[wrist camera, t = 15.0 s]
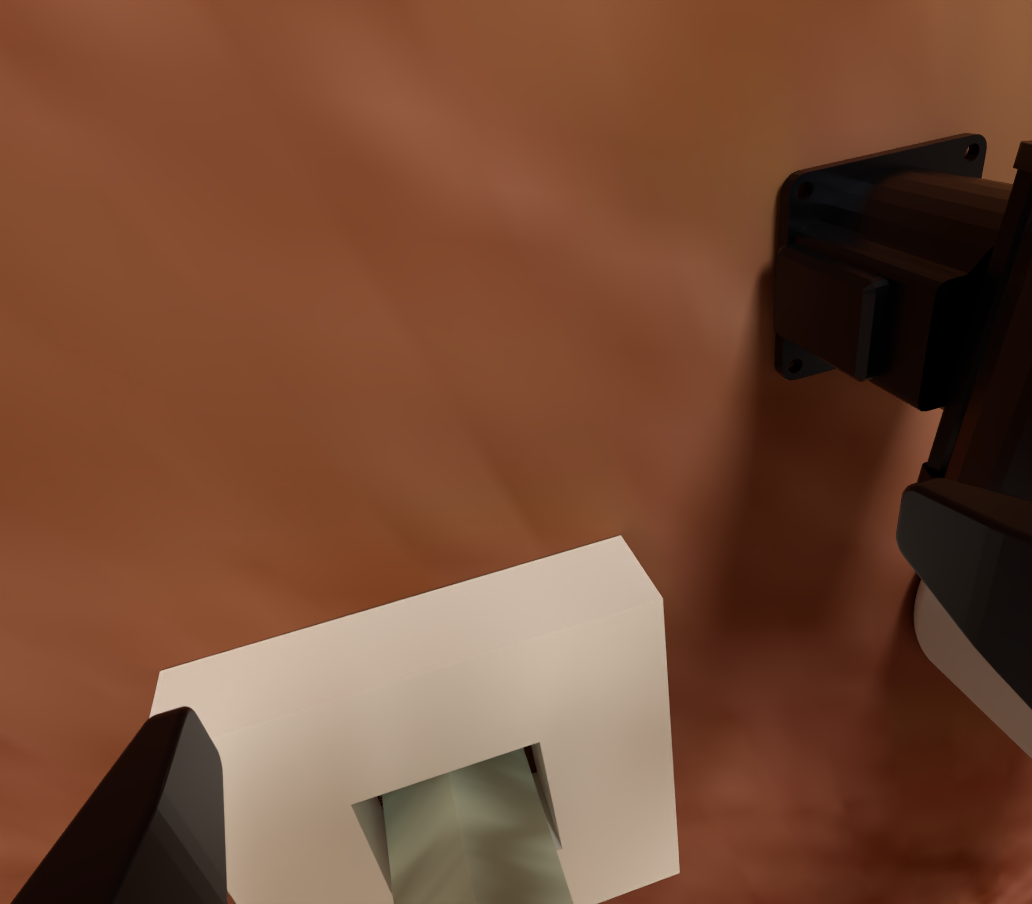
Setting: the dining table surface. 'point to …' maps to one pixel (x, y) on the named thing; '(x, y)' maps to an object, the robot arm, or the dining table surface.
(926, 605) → the cylinder vase
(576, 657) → the socket block
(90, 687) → the dining table surface
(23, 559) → the dining table surface
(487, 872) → the peg
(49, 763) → the dining table surface
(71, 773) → the dining table surface
